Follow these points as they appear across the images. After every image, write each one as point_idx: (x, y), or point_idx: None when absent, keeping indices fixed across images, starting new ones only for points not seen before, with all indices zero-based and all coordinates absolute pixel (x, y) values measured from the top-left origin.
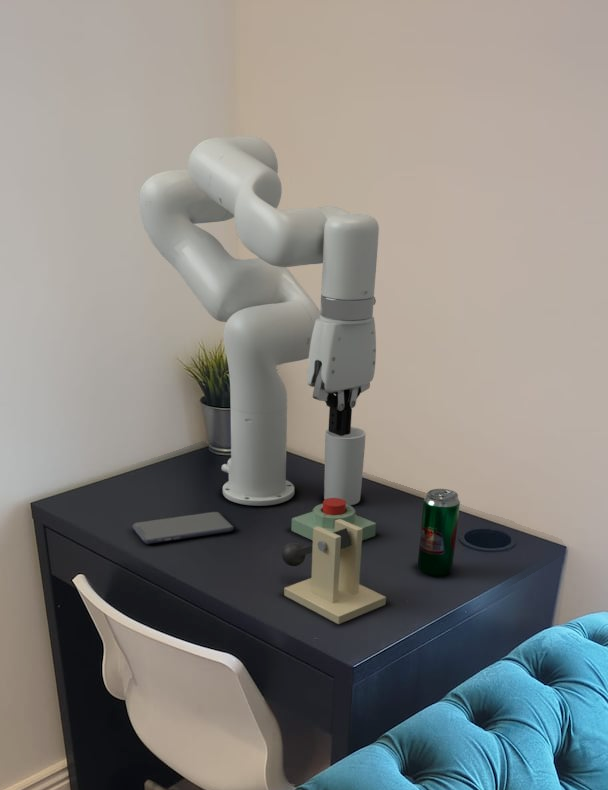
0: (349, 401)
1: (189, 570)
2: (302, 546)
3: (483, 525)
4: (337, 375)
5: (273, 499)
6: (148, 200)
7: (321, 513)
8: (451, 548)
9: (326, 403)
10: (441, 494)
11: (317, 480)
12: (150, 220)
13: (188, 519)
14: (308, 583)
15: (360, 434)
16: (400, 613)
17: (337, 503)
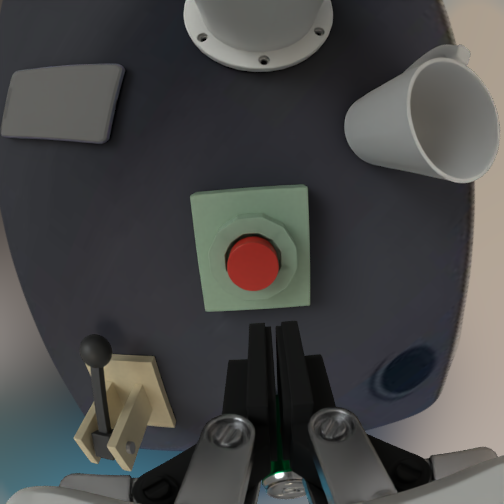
0: (306, 487)
1: (19, 232)
2: (101, 364)
3: (441, 340)
4: None
5: (243, 66)
6: None
7: (218, 261)
8: None
9: (202, 433)
10: (286, 491)
11: (396, 34)
12: None
13: (67, 82)
14: (110, 367)
15: (488, 135)
16: (179, 434)
17: (252, 278)
